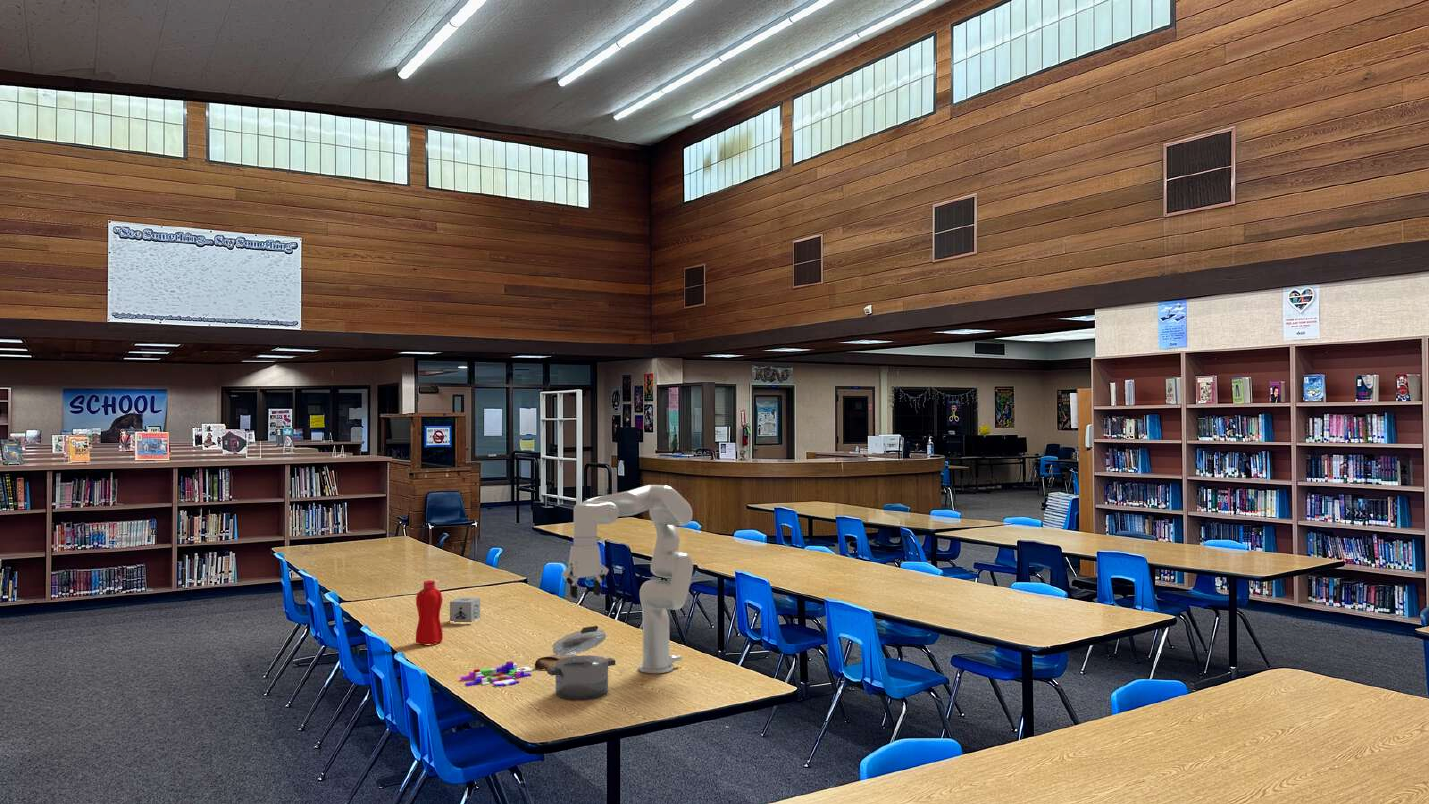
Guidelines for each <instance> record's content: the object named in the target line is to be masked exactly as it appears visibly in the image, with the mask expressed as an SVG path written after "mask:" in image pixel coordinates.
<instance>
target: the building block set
mask: <svg viewBox="0 0 1429 804" xmlns="http://www.w3.org/2000/svg"><path fill="white" fill-rule="evenodd" d="M518 669H523V670H518ZM524 669H525V670H524ZM527 671H531V672H533V668H531V667H529V666H522V667H518V664H517V663H516V662H515V663H514V662H513V661H512V660H505V661H504V664H502V665H501V666H499V667H498V666H497V667H494V668H485V669H480V668H475V669H474V670H472V671H469V672H468V675H463V676H460V678H459V679H461V680H462V681H461V680H460V681H461V682H464V681H463V680H466V681H467V682H465V684H464V685H466V687H471V686H472V685H473V686H478V685H481V686H488V685H487V684H489V683H492V684H493V683H494V684H493V687H494V686H499V687H500V686H503V687H506V686H514V685H517V684H520V681H519V680H517V679H520V678H527V677H531V676H532V674H531V672H527ZM524 672H525V673H524ZM506 673H508V674H506ZM495 675H497V676H495ZM498 675H499V676H498ZM513 677H515V678H517V679H516V680H515V678H513ZM519 677H520V678H519ZM474 678H475V679H474ZM512 678H513V679H512ZM469 679H472V680H474V681H470V680H469ZM502 679H506V680H502ZM498 680H501V681H498ZM480 683H482V684H480ZM516 683H517V684H516ZM489 685H490V684H489Z"/></svg>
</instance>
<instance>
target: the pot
mask: <svg viewBox="0 0 1429 804" xmlns="http://www.w3.org/2000/svg"><path fill="white" fill-rule="evenodd" d="M555 665H556V667H552V668H547V671H546V673H547V674H548V675H550V676H551V677H552V676H553V677H555V697H556V698H558V697H559V699H560V700H564V701H570V702H571V701H573V702H578V701H579V702H581V701H583V702H584V701H591V700H596V699H600V698H602V696H603V697H605V696H606V695H607V694H609V667H612V666H616V659H613V658H611V657H609V658H608V657H607V658H606V657H603V656H600V655H586V654H585V655H584V654H583V655H576V654H575V655H573V656H567V657H565V658H563V659H560V660H558V661H557V662H556V663H555ZM604 695H605V696H604Z"/></svg>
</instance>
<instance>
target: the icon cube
mask: <svg viewBox="0 0 1429 804" xmlns="http://www.w3.org/2000/svg"><path fill="white" fill-rule="evenodd" d="M478 618H480V619H481V597H461V596H460V597H457V598H455V599H453V600H450V601H449V622H450V621H454V622H472V621H474V620H475V619H478Z"/></svg>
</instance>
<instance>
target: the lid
mask: <svg viewBox="0 0 1429 804" xmlns="http://www.w3.org/2000/svg"><path fill="white" fill-rule="evenodd" d="M606 637H607V635H606V632H605V630H604V629H601V628H599V626H598V625H594V626H593V625H592V626H586V627H582V629H581V630H577V631H573V632H572V633H569V634H567V635H564V636H563V637H561V638H560V639H558V640H556V641H555V643H553V645H552V651H553V654H554V655H555V654H556V655H572V654H575V655H576V654H580V653H584V652H587V651H589V650H591V649H593V648H596V647H597V646H599V645H601V643H603V642H604V641H605V640H606Z"/></svg>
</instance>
